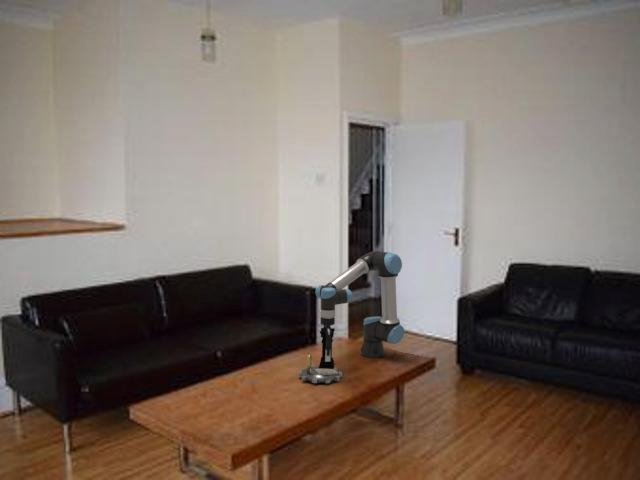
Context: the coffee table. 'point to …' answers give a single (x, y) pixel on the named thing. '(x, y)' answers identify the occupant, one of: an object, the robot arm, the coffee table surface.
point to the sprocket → (319, 373)
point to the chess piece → (322, 362)
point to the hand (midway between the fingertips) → (326, 358)
